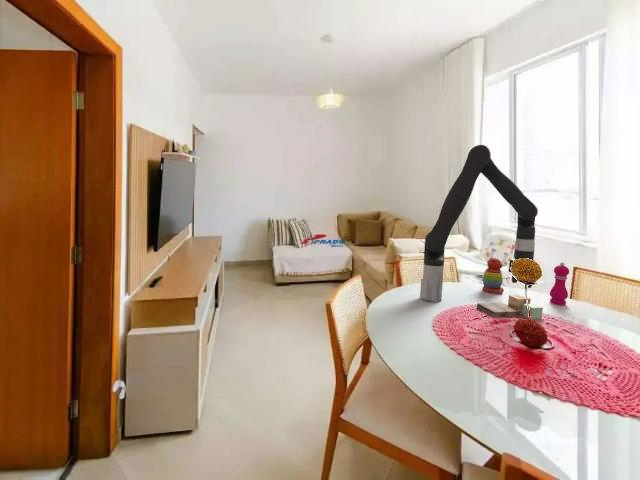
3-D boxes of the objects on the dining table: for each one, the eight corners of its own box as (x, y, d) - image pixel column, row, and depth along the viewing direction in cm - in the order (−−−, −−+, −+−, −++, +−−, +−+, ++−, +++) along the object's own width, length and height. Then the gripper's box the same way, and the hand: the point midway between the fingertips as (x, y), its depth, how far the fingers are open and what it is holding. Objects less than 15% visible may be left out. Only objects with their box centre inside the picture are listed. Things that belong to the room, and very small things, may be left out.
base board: (494, 316, 146) (494, 312, 146) (477, 307, 158) (477, 303, 157) (519, 315, 148) (520, 311, 148) (500, 306, 160) (501, 302, 159)
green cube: (530, 319, 144) (532, 307, 143) (522, 315, 149) (523, 304, 148) (541, 319, 145) (542, 307, 144) (532, 314, 149) (533, 303, 149)
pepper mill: (565, 302, 168) (570, 261, 165) (568, 306, 161) (573, 264, 158) (547, 300, 171) (552, 260, 168) (550, 304, 164) (554, 262, 161)
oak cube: (517, 312, 152) (518, 299, 151) (507, 308, 158) (508, 295, 157) (529, 312, 153) (530, 298, 152) (519, 307, 159) (520, 294, 158)
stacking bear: (502, 295, 178) (505, 261, 176) (480, 291, 183) (483, 258, 181) (503, 290, 187) (506, 257, 185) (483, 287, 192) (485, 255, 190)
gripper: (505, 246, 158) (502, 281, 160) (529, 251, 144) (525, 289, 146) (520, 246, 159) (517, 280, 162) (544, 251, 146) (541, 289, 148)
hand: (521, 285), depth 154 cm, fingers open, 8 cm apart
